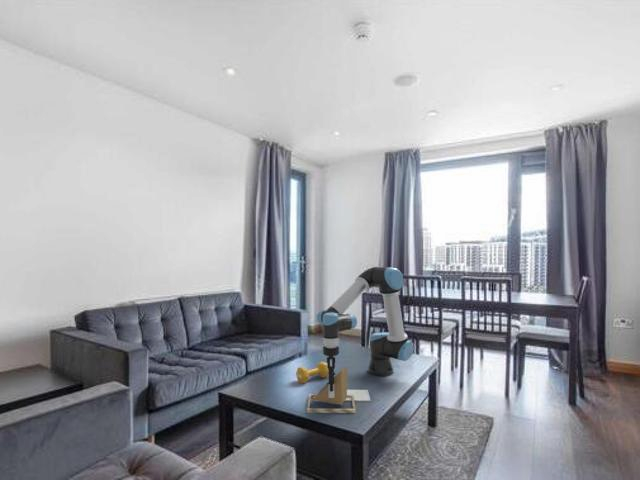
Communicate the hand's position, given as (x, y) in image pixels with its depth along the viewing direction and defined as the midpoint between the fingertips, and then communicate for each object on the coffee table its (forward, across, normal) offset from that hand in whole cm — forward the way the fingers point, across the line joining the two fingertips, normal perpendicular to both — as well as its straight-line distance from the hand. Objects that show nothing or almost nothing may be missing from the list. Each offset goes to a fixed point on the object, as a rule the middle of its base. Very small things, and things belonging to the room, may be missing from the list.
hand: (331, 393), depth 173 cm
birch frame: (+5, 0, 0) cm, 5 cm away
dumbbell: (+6, -33, -11) cm, 36 cm away
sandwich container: (+3, 0, -1) cm, 3 cm away
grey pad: (+6, -10, +12) cm, 17 cm away
